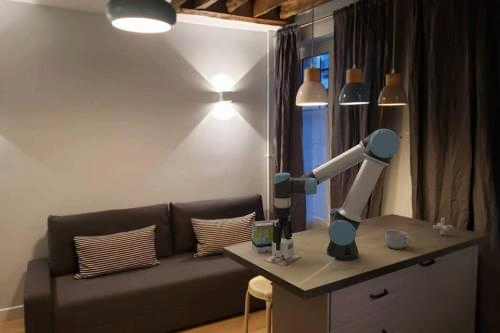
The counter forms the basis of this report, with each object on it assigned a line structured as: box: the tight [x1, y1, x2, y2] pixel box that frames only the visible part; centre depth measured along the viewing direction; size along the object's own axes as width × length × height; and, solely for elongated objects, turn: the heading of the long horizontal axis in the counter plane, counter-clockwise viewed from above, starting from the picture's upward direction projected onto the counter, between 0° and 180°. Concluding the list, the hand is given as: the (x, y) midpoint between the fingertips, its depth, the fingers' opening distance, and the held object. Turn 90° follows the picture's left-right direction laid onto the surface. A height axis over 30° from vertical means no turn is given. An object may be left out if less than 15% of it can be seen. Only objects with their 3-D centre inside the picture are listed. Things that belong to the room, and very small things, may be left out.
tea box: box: [251, 219, 285, 254], centre depth 198 cm, size 15×10×15 cm
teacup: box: [384, 229, 412, 250], centre depth 198 cm, size 14×11×8 cm
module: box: [271, 238, 294, 259], centre depth 182 cm, size 8×6×7 cm
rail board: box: [263, 251, 302, 267], centre depth 182 cm, size 12×14×3 cm
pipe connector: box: [432, 217, 453, 235], centre depth 218 cm, size 10×10×10 cm
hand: (283, 254), depth 182 cm, fingers closed on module, 6 cm apart
